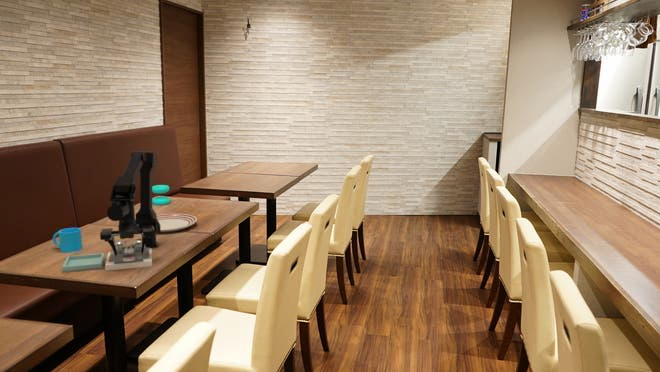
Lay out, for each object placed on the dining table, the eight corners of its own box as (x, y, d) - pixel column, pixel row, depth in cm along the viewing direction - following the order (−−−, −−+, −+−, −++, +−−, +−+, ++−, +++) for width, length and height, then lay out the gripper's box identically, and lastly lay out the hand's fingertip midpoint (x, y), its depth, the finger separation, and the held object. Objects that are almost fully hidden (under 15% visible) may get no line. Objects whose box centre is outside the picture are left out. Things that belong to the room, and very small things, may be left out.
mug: (86, 247, 221) (84, 228, 220) (74, 253, 213) (72, 233, 212) (60, 245, 223) (58, 226, 222) (47, 251, 215) (45, 232, 214)
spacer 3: (133, 249, 210) (132, 239, 209) (145, 248, 211) (145, 238, 210) (133, 252, 206) (132, 242, 205) (145, 251, 207) (144, 241, 206)
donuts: (155, 188, 293) (148, 185, 301) (156, 206, 295) (149, 203, 302) (172, 186, 299) (165, 183, 307) (173, 203, 301) (166, 200, 309)
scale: (108, 257, 209) (108, 248, 208) (152, 253, 213) (151, 245, 213) (105, 271, 193) (104, 262, 192) (152, 266, 198) (151, 257, 197)
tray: (67, 261, 204) (67, 256, 203) (104, 257, 208) (104, 253, 207) (62, 272, 192) (62, 267, 191) (101, 268, 196) (101, 263, 195)
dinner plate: (174, 237, 236) (174, 230, 235) (123, 232, 245) (123, 225, 244) (208, 222, 261) (208, 216, 261) (161, 218, 270) (160, 211, 269)
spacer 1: (114, 250, 208) (113, 240, 207) (126, 249, 209) (126, 239, 208) (113, 254, 203) (112, 244, 203) (126, 253, 205) (125, 243, 204)
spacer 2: (123, 254, 203) (122, 244, 202) (135, 253, 204) (135, 243, 204) (122, 258, 199) (121, 247, 198) (135, 257, 200) (134, 246, 199)
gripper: (97, 221, 188) (100, 263, 191) (152, 217, 194) (155, 258, 197) (100, 214, 199) (103, 254, 202) (152, 210, 204) (155, 249, 207)
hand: (129, 254), depth 202 cm, fingers open, 9 cm apart
